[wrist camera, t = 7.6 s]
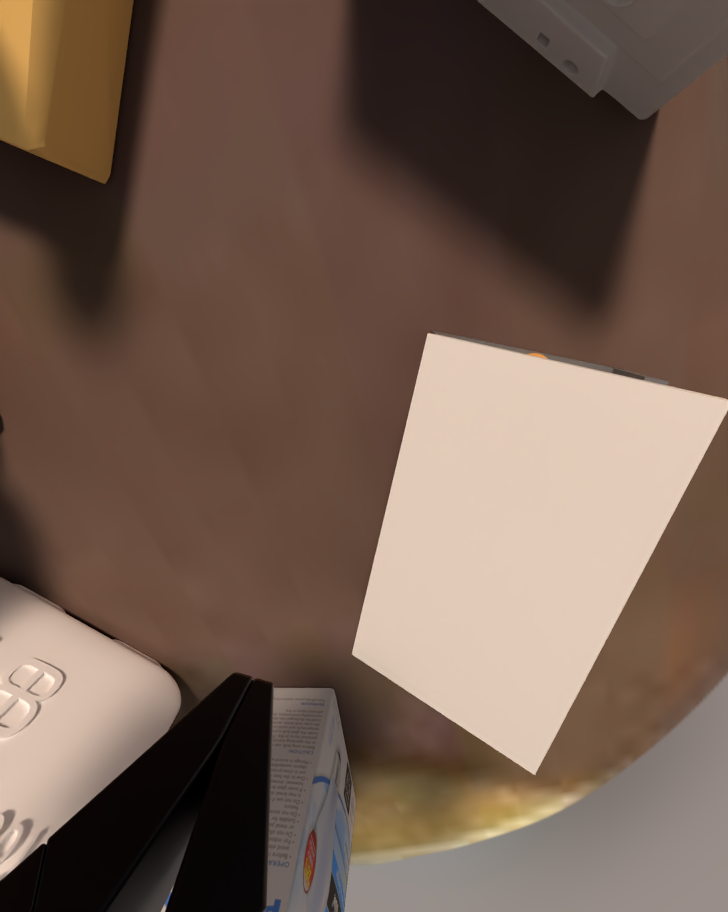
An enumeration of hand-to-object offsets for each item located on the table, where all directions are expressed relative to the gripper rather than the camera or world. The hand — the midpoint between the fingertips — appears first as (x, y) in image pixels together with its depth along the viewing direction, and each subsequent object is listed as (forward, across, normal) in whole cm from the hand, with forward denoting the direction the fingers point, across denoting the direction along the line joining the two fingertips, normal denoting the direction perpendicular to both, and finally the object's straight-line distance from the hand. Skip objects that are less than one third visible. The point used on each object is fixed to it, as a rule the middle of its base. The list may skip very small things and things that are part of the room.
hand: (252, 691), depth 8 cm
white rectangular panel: (+7, -6, 0) cm, 9 cm away
